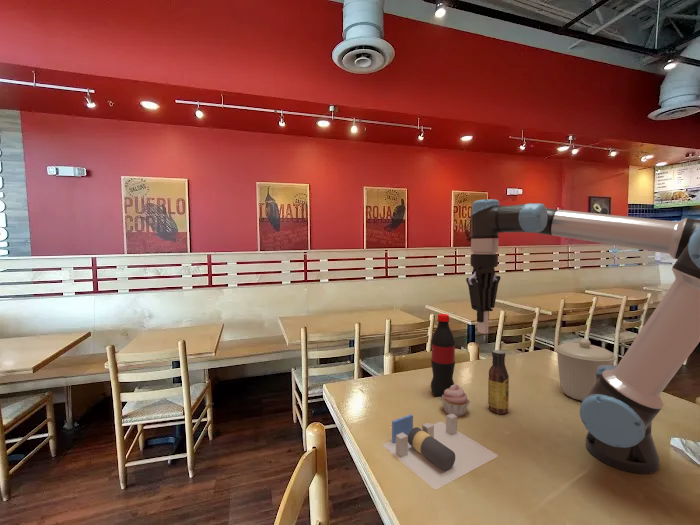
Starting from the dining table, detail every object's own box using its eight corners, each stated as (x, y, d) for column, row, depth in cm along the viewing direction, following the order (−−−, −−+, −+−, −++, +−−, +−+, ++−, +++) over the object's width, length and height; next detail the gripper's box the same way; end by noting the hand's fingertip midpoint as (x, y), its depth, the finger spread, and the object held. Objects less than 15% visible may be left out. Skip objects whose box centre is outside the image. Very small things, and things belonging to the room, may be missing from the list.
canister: (564, 405, 117) (566, 345, 116) (547, 383, 135) (548, 331, 133) (625, 411, 113) (628, 348, 111) (599, 388, 130) (601, 333, 129)
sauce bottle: (510, 415, 110) (512, 355, 109) (490, 414, 111) (491, 354, 110) (505, 406, 116) (506, 349, 115) (486, 404, 118) (487, 348, 116)
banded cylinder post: (453, 470, 84) (457, 449, 84) (438, 472, 81) (442, 451, 82) (419, 445, 94) (423, 426, 94) (405, 446, 92) (409, 427, 92)
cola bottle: (452, 390, 129) (453, 312, 127) (456, 400, 121) (457, 317, 119) (429, 389, 130) (430, 311, 128) (432, 399, 122) (433, 316, 120)
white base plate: (498, 458, 89) (499, 433, 88) (435, 493, 77) (435, 464, 76) (441, 423, 106) (441, 402, 105) (381, 447, 94) (381, 423, 93)
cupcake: (450, 423, 106) (450, 391, 105) (435, 408, 115) (435, 380, 114) (476, 418, 108) (476, 388, 108) (459, 405, 117) (459, 376, 117)
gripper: (487, 252, 106) (485, 326, 108) (458, 253, 100) (457, 332, 101) (509, 253, 100) (507, 332, 102) (480, 254, 93) (479, 338, 95)
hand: (482, 332), depth 101 cm, fingers closed
